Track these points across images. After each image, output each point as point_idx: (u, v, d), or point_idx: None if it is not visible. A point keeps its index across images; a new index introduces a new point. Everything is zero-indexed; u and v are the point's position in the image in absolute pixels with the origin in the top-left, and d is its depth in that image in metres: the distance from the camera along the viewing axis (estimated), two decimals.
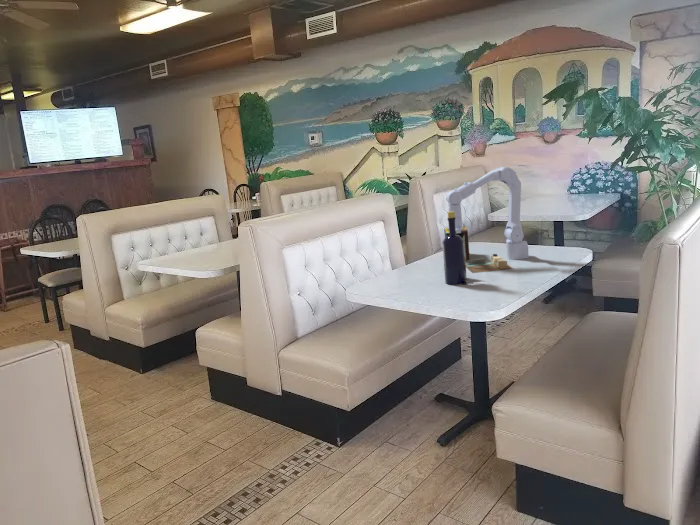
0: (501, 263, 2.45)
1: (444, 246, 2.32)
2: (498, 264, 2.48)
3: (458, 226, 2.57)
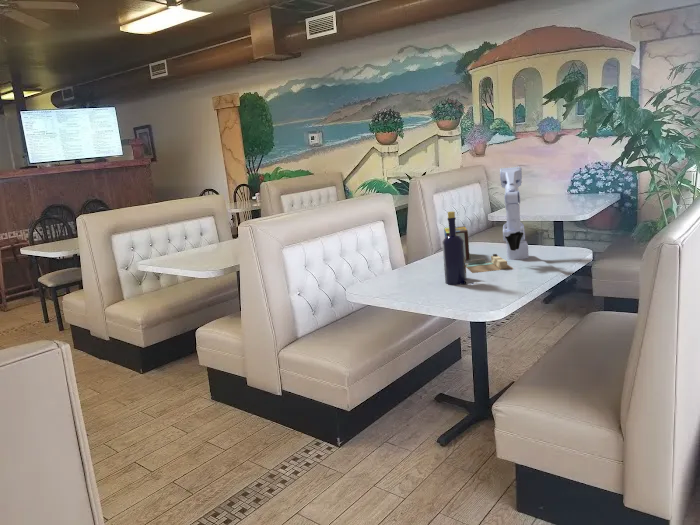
0: (501, 263, 2.45)
1: (444, 246, 2.32)
2: (498, 264, 2.48)
3: (511, 229, 2.44)
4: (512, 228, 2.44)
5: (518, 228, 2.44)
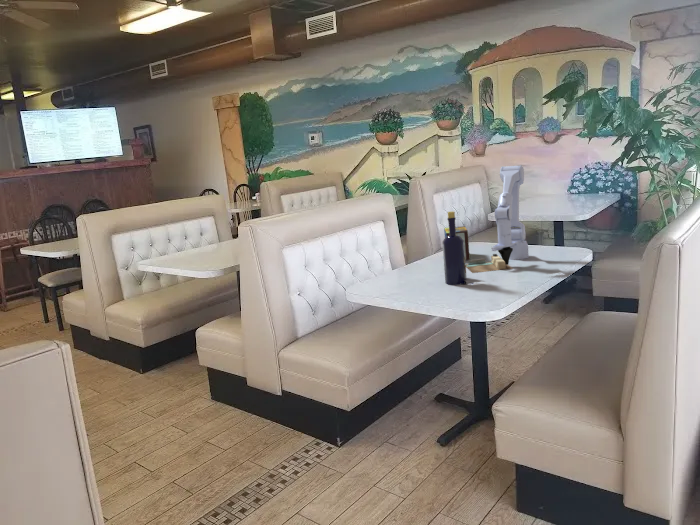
0: (499, 263, 2.45)
1: (444, 246, 2.32)
2: (497, 264, 2.48)
3: (501, 244, 2.45)
4: (501, 243, 2.45)
5: (508, 243, 2.44)
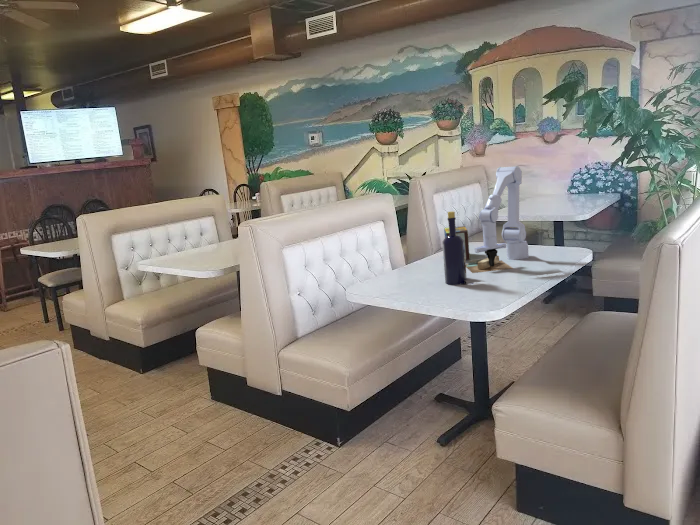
0: (478, 263, 2.49)
1: (444, 246, 2.32)
2: None
3: (485, 246, 2.46)
4: (485, 245, 2.46)
5: (491, 245, 2.45)
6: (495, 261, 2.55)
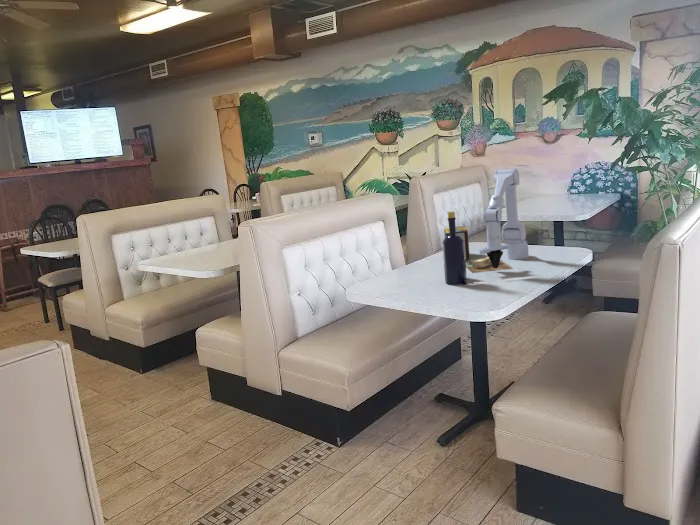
0: (472, 263, 2.51)
1: (444, 246, 2.32)
2: None
3: (490, 247, 2.38)
4: (490, 246, 2.38)
5: (497, 246, 2.37)
6: None
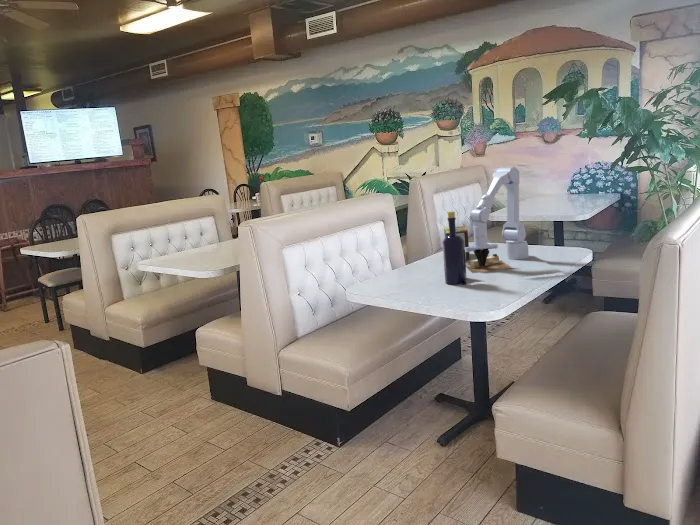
0: (470, 262, 2.53)
1: (444, 246, 2.32)
2: None
3: (475, 245, 2.48)
4: (475, 245, 2.48)
5: (481, 245, 2.46)
6: (493, 261, 2.56)
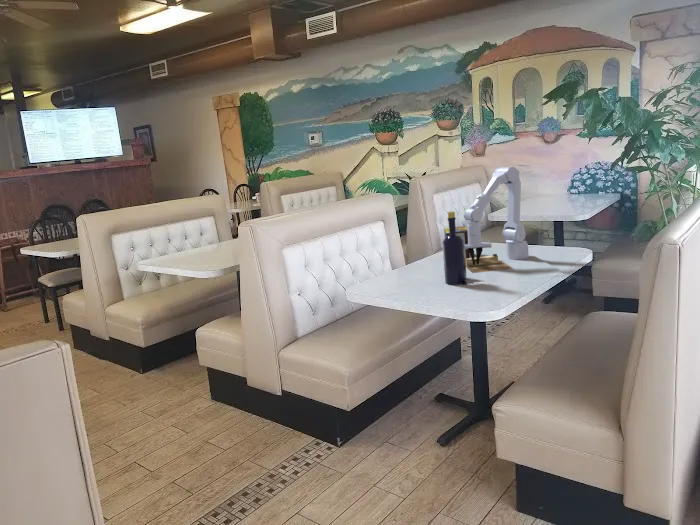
0: (465, 260, 2.59)
1: (444, 246, 2.32)
2: None
3: (468, 244, 2.53)
4: (468, 243, 2.53)
5: (473, 244, 2.51)
6: (490, 261, 2.57)
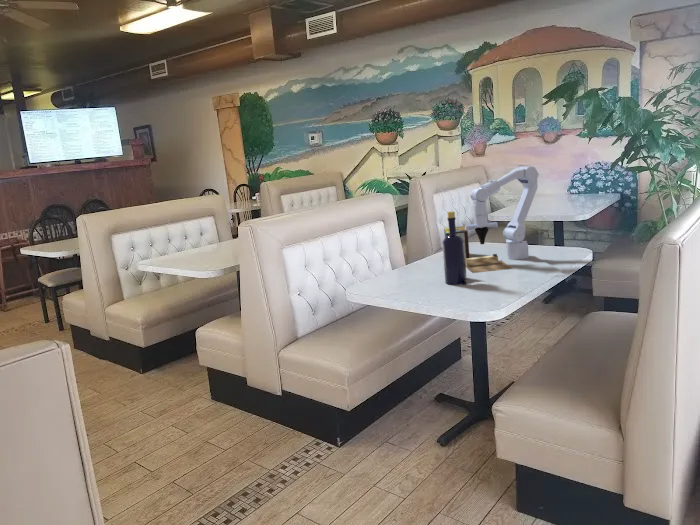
0: (465, 260, 2.59)
1: (444, 246, 2.32)
2: None
3: (475, 224, 2.56)
4: (475, 223, 2.55)
5: (480, 224, 2.54)
6: (490, 261, 2.57)
